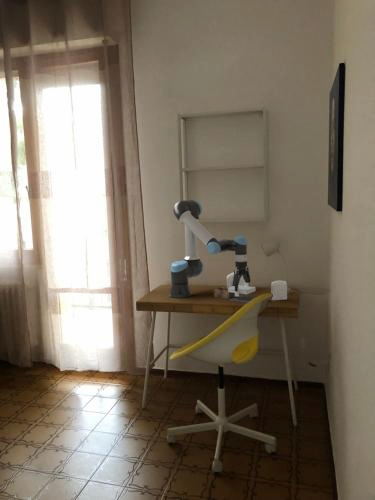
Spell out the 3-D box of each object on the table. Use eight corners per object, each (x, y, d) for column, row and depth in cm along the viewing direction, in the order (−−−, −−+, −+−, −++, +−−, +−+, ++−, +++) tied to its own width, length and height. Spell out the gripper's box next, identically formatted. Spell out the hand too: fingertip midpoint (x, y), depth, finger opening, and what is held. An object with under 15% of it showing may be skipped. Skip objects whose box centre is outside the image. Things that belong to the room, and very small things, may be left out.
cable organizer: (240, 292, 285) (240, 276, 283) (226, 291, 289) (225, 275, 288) (247, 288, 298) (246, 272, 297) (233, 287, 303) (233, 271, 301)
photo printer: (272, 301, 260) (272, 281, 258) (270, 299, 264) (270, 280, 262) (288, 300, 260) (288, 280, 259) (285, 298, 265) (285, 279, 263)
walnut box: (214, 296, 276) (214, 289, 275) (221, 294, 282) (220, 287, 281) (229, 299, 268) (229, 291, 268) (235, 296, 274) (235, 289, 274)
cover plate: (228, 291, 266) (227, 288, 266) (237, 288, 275) (237, 284, 274) (246, 294, 257) (246, 290, 257) (255, 290, 266) (255, 287, 266)
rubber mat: (229, 300, 265) (229, 299, 265) (240, 295, 275) (240, 295, 275) (250, 303, 255) (250, 302, 255) (262, 298, 265) (262, 298, 265)
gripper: (236, 264, 252) (237, 298, 255) (255, 258, 270) (256, 291, 273) (226, 263, 257) (227, 297, 260) (245, 257, 275) (246, 290, 278)
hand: (241, 294), depth 266 cm, fingers closed on cover plate, 11 cm apart
